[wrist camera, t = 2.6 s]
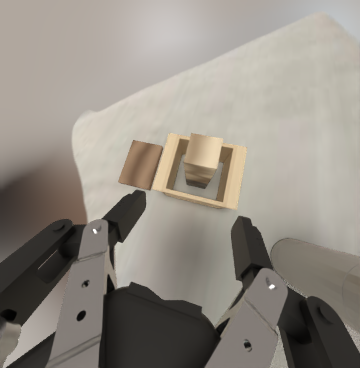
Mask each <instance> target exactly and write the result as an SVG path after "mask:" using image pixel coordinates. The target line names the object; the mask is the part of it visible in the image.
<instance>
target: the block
mask: <svg viewBox="0 0 360 368" xmlns="http://www.w3.org/2000/svg"><path fill="white" fill-rule="evenodd" d="M222 142H223V139H221V138H215V137H210V136H204V135H198V134H193V133H191V136H190V140H189V144H188V147H187V151H186V155H185V159H184V168H185V175H186V182H187V185H191V186H195V187H200V188H204V189H205V188H206V186H207V184H208V183H209V181H210V179H211V178H212V176H213V175H214V173H215V171H216V170H217V166H218V161H219V156H220V151H221V147H222Z"/></svg>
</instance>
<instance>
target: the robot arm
mask: <svg viewBox="0 0 360 368" xmlns="http://www.w3.org/2000/svg"><path fill="white" fill-rule="evenodd" d="M145 208H146V193H145V191H141V190H135V191H134V192H133V193H132V194H128V195H126V196H124V197H123V198H122V199H121V200H120V201H119V202H118V203H117V204H116V205H115V206H114V207H113V208H112V209H111V210H110V211H109V212H108V213H107V214H106V215H105V216H104V217H103V218H102V219H98V220H94V221H92V222H90V223H89V224H87V225H74V224H73V223H72V221H71V220H69V219H62V220H59V221H55V222H53V223H52V224H50V225H49V226H47V227H46V228H45V229H43V230H42V231H41V232H40V233H39V234H37V235H36V236H34V237H33V238H32V239H31V240H29V241H28V242H27V243H25V244H24V245H23V246H22V247H20V248H19V249H18V250H17V251H15V252H14V253H13V254H11V255H10V256H9V257H8V258H6V259H5V260H4V261H2V262H1V263H0V368H2V367H3V364H4V362H5V360H6V358H7V356H8V355H10V354H11V353H12V352H13V351H14V349H15V348H16V346H17V344H18V339H19V336H20V333H21V327H22V326H23V324H24V323H25V322H26V321H27V320H28V318H29V317H30V316H31V315H32V313H33V312H34V311H35V310H36V308H37V307H38V306H39V305H40V304H41V303H42V301H43V300H44V299H45V298H46V297H47V295H48V294H49V293H50V292H51V291H52V289H53V288H54V287H55V286H56V284H57V283H58V282H59V281H60V280H61V278H62V277H63V276H64V275H65V274H66V272H67V271H68V270H69V269H70V273H69V277H68V281H67V286H66V290H65V294H64V299H63V304H62V307H61V312H60V316H59V321H58V325H57V329H56V331H55V332H54V333H53V334H51V335H50V336H48V337H47V338H46V339H44V340H43V341H42V342H40V343H39V344H38V345H36V346H35V347H34V348H32V349H31V350H29V351H28V352H27V353H25V354H24V355H22V356H21V357H20V358H18V359H17V360H16V361H14V362H13V363H12V364H10V365H9V366H7V367H6V368H269V367H270V364H271V361H272V358H273V355H274V352H275V349H276V346H277V343H278V334H277V333H276V331H275V329H276V325H277V326H279V330H280V335H281V339H282V343H283V347H284V351H285V355H286V360H287V364H288V368H360V353H359V351H358V349H357V347H356V345H355V344H354V342H353V340H352V338H351V336H350V334H349V333H348V331H347V329H346V327H345V325H344V323H345V324H346V325H348V326H349V327H351V328H352V329H353V330H355V331H356V332H357V333H359V334H360V257H359V256H355V255H351V254H348V253H344V252H340V251H336V250H333V249H329V248H325V247H321V246H317V245H314V244H310V243H306V242H302V241H299V240H295V239H283V240H280V241H279V242H277V243H276V244H275V245H274V247H273V249H272V252H271V261H272V264H271V261H270V259H269V256H268V253H267V250H266V247H265V244H264V241H263V238H262V235H261V233H260V232H259V230H258V229H257V228H256V227H255V226H252V223H251V219H250V218H247V217H243V216H238V218H237V220H236V222H235V223H234V225H233V227H232V230H231V240H232V248H233V257H234V266H235V274H236V280H239V281H242V284H243V287H242V288H241V290H240V291H239V293H238V294H237V296H236V297H235V299H234V300H233V302H232V303H231V305H230V306H229V308H228V309H227V311H226V312H225V314H224V315H223V316H222V317H221V318H220V320H219V321H218V323H217V324H216V326H215V327H214V326H213V324H212V323H211V322H210V320H209V319H208V318H207V317H206V316H205V315H204V314H203V313H201V311H202V307H201V306H198V305H195V304H192V303H189V302H187V301H184V300H163V299H161V298H160V297H159V296H157V295H156V294H155V293H154V292H152V291H151V290H150V289H149V288H147V287H145V286H142V285H139V284H136V283H134V282H131V283H130V285H129V286H126V287H121V288H118V289H117V278H116V270H115V245H116V243H117V242H121V243H123V242H124V240H125V239H126V237H127V236H128V234H129V233H130V231H131V230H132V228H133V227H134V225H135V224H136V222H137V221H138V219H139V218H140V216H141V215H142V213H143V212H144V210H145ZM56 250H57V251H56ZM55 251H56V252H55ZM54 252H55V253H54ZM53 253H54V254H53ZM51 254H53V255H52V256H51ZM50 256H51V257H50ZM49 257H50V258H49ZM48 258H49V259H48ZM47 259H48V260H47ZM46 260H47V261H46ZM76 260H77V261H76ZM45 261H46V262H45ZM44 262H45V263H44ZM43 263H44V264H43ZM41 264H43V265H42V266H41ZM272 265H273V267H274V269H275V271H276V272H277V273H278V274H279V275H278V274H277V273H276V272H274V270H273V267H272ZM40 266H41V267H40ZM39 267H40V268H39ZM38 268H39V269H38ZM281 277H282V278H283V279H284V280H286V281H287V282H288V283H290V284H291V285H293V286H294V287H295V288H297V289H298V290H299V291H301V292H302V293H304V294H305V295H306V296H308V298H305V297H303V296H302V295H300V294H299V293H297V292H295V291H294V290H292V289H290V288H289V287H287V286H286V284H285V282H284V281H283V279H282V278H281ZM343 322H344V323H343Z"/></svg>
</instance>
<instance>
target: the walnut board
mask: <svg viewBox="0 0 360 368" xmlns="http://www.w3.org/2000/svg"><path fill="white" fill-rule="evenodd" d="M162 150H163V147H162V146H160V145H155V144H150V143H145V142H140V141H135V140H133V142H132V145H131V148H130V150H129V153H128V156H127V159H126V161H125V164H124V167H123V170H122V172H121V175H120V178H119V181H118V182H120V183H123V184H127V185H131V186H135V187H139V188H143V189H147V190H150V189H151V186H152V183H153V180H154V176H155V173H156V170H157V167H158V163H159V160H160V157H161V154H162Z"/></svg>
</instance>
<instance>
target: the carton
mask: <svg viewBox="0 0 360 368" xmlns="http://www.w3.org/2000/svg"><path fill="white" fill-rule="evenodd" d="M189 140H190V137H187V136H182V135H176V134H171V133H169V135H168V138H167V142H166V145H165V148H164V151H163V155H162V158H161V161H160V165H159V168H158V171H157V174H156V178H155V181H154V184H153V187H152V189H153V190H157V191H161V192H163V193H164V194H166V195H167V196H170V197H174V198H178V199H182V200H186V201H190V202H194V203H198V204H202V205H206V206H210V207H214V208H230V209H234V210H237V206H238V200H239V194H240V188H241V182H242V176H243V170H244V164H245V158H246V152H247V147H242V146H237V145H231V144H226V143H222V147H221V151H220V156H219V162H224V164H223V169H222V174H221V179H220V184H219V189H218V194H217V199H216V201H215V200H211V199H207V198H203V197H198V196H194V195H190V194H186V193H182V192H178V191H174V190H172V189H173V186H174V182H175V178H176V175H177V171H178V167H179V164H180V160H181V156H182V154H185V155H186V151H187V147H188V144H189Z"/></svg>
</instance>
